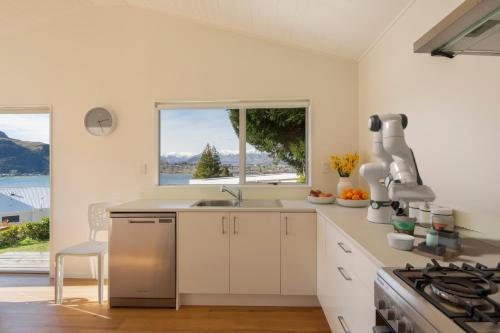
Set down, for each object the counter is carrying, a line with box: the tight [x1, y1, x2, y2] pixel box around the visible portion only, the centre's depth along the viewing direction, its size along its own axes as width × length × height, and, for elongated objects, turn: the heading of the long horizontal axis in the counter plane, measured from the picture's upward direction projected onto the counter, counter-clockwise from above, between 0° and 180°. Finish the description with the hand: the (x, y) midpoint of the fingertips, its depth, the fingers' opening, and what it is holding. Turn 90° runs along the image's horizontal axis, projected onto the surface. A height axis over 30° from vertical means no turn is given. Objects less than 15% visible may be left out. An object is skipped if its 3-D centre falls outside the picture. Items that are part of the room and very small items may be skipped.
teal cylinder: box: [425, 228, 438, 248], centre depth 108 cm, size 4×4×9 cm
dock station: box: [412, 229, 465, 262], centre depth 112 cm, size 23×11×8 cm, turn 123°
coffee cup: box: [431, 214, 455, 231], centre depth 129 cm, size 9×9×12 cm
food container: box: [392, 215, 418, 237], centre depth 138 cm, size 12×6×10 cm, turn 71°
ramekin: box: [386, 232, 416, 251], centre depth 118 cm, size 11×11×5 cm
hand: (417, 207), depth 120 cm, fingers open, 8 cm apart
